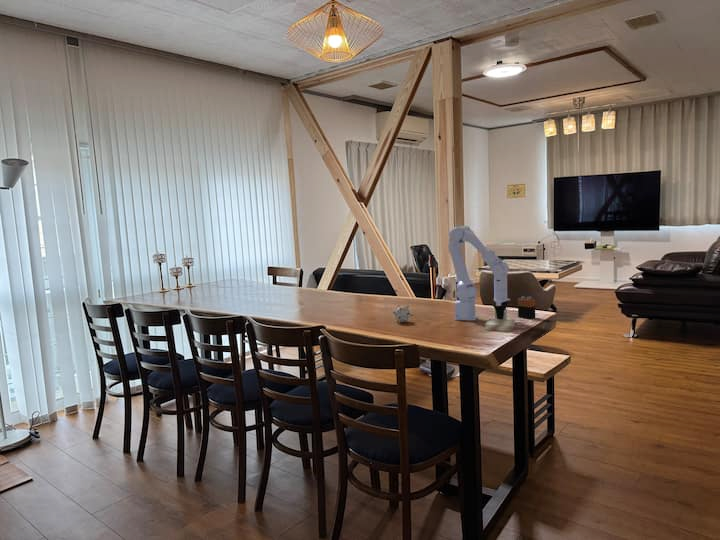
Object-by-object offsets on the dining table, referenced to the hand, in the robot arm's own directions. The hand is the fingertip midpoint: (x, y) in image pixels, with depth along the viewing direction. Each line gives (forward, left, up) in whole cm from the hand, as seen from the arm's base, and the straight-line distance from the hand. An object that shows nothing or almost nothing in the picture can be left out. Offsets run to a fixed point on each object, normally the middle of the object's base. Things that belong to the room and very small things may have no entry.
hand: (501, 318), depth 229 cm
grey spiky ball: (-44, -9, -2) cm, 45 cm away
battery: (+10, +12, -2) cm, 16 cm away
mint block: (0, 0, -1) cm, 1 cm away
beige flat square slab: (+1, -11, -2) cm, 11 cm away
